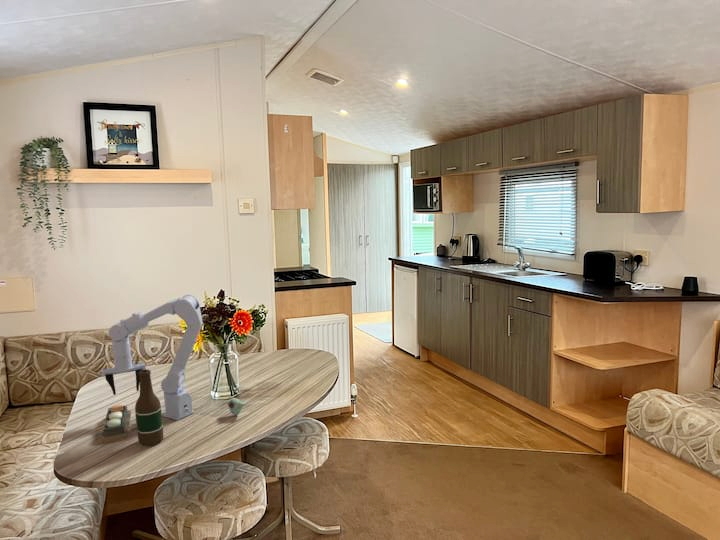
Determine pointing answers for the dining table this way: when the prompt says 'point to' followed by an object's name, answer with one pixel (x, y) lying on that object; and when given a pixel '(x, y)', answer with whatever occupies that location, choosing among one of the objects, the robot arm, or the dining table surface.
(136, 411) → the beer bottle
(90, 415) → the dining table surface
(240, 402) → the robot head
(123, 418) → the button panel
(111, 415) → the cream button
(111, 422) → the sage button
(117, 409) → the terracotta button
